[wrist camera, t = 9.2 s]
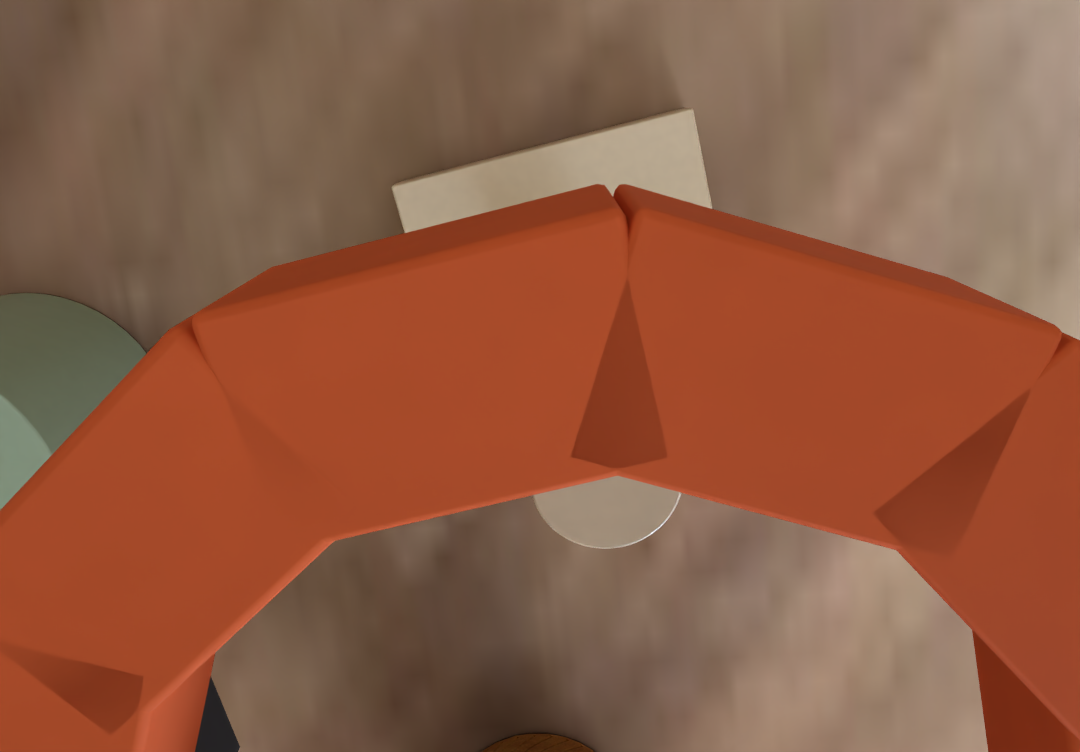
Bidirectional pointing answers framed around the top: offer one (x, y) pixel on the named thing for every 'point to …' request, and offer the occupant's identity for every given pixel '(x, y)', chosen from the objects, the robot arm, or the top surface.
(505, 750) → the disposable coffee cup
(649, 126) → the tall post
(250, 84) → the top surface
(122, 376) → the green cylinder with peg
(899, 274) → the ring
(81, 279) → the top surface
